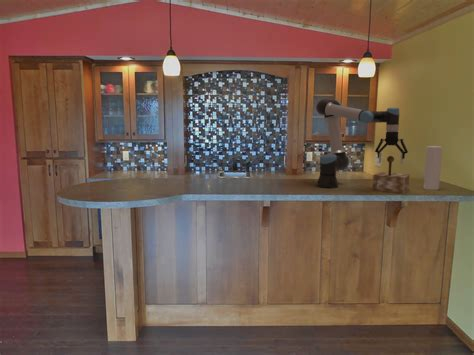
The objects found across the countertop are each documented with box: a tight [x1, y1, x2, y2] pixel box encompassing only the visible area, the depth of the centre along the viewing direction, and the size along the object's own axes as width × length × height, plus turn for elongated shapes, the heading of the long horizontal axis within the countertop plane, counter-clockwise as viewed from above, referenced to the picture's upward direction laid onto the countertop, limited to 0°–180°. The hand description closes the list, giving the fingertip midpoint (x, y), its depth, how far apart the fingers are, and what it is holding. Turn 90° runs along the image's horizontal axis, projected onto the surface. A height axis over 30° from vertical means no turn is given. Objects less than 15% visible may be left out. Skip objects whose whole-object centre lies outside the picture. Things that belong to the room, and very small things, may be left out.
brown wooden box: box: [371, 175, 410, 194], centre depth 239 cm, size 20×16×10 cm
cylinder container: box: [423, 145, 443, 191], centre depth 241 cm, size 9×9×30 cm
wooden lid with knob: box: [372, 155, 410, 178], centre depth 237 cm, size 20×16×14 cm
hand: (390, 163), depth 232 cm, fingers open, 13 cm apart
